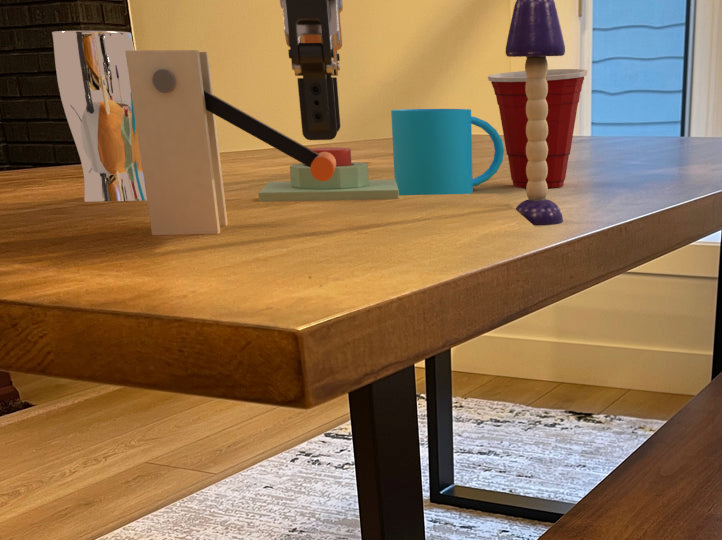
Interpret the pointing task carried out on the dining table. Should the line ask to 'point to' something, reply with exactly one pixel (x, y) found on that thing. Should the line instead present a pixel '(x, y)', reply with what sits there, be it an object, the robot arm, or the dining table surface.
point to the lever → (273, 137)
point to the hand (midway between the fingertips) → (323, 136)
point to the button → (337, 154)
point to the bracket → (177, 141)
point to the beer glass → (101, 112)
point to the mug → (438, 151)
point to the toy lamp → (536, 97)
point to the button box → (329, 186)
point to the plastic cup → (559, 119)
